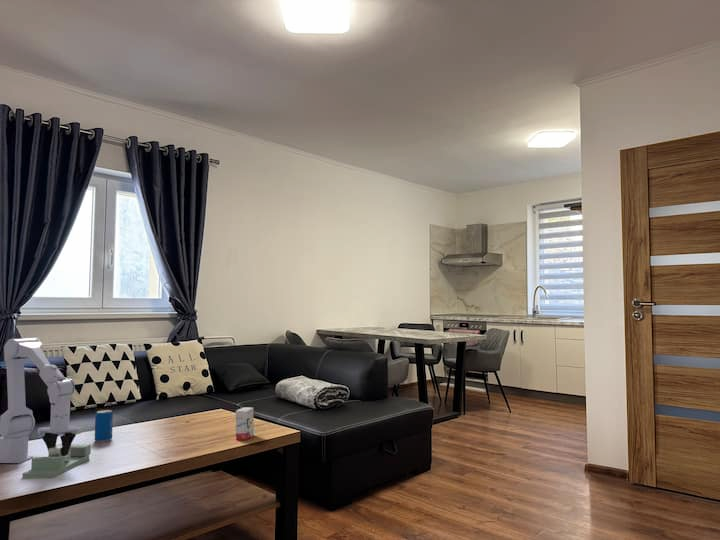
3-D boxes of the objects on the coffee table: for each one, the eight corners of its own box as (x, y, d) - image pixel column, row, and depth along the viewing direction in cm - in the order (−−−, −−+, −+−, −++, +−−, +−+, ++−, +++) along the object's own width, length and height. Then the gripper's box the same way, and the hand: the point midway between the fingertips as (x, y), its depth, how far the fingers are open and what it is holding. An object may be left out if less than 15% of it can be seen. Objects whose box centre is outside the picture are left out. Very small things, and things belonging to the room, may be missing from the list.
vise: (22, 478, 158) (23, 462, 158) (62, 459, 178) (62, 445, 178) (52, 478, 158) (53, 462, 158) (88, 459, 177) (89, 445, 178)
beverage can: (107, 442, 199) (108, 412, 200) (91, 442, 199) (92, 413, 200) (115, 438, 206) (115, 409, 207) (99, 438, 206) (100, 409, 207)
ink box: (246, 440, 201) (246, 411, 202) (234, 440, 202) (235, 411, 203) (254, 435, 209) (254, 407, 210) (243, 434, 210) (243, 406, 211)
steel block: (48, 463, 166) (48, 448, 166) (59, 458, 172) (60, 443, 172) (59, 463, 166) (60, 448, 166) (70, 458, 172) (71, 443, 172)
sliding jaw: (56, 457, 175) (57, 447, 175) (63, 453, 179) (64, 444, 179) (84, 457, 175) (84, 447, 175) (90, 453, 178) (90, 444, 179)
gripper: (31, 417, 166) (29, 458, 165) (73, 417, 165) (71, 458, 164) (45, 413, 173) (44, 452, 172) (85, 413, 172) (84, 452, 171)
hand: (58, 455), depth 168 cm, fingers closed on steel block, 4 cm apart
